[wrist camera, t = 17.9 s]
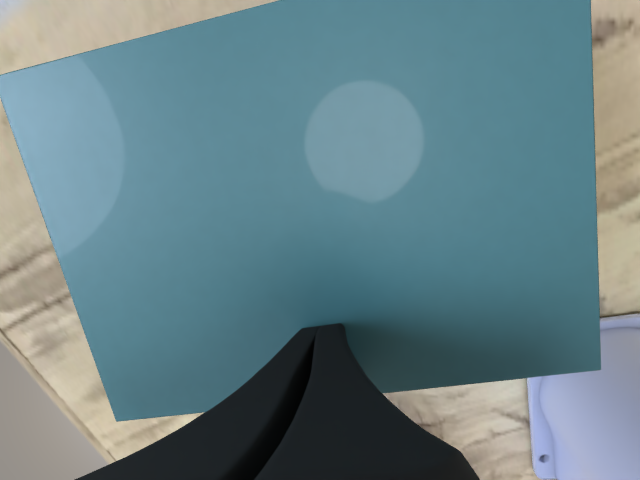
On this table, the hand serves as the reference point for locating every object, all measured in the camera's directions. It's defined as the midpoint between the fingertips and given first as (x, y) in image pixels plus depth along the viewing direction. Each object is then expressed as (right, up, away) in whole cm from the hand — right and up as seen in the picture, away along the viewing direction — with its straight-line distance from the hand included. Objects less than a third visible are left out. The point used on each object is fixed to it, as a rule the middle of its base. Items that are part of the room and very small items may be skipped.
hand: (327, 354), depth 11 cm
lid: (-1, +4, 0) cm, 4 cm away
